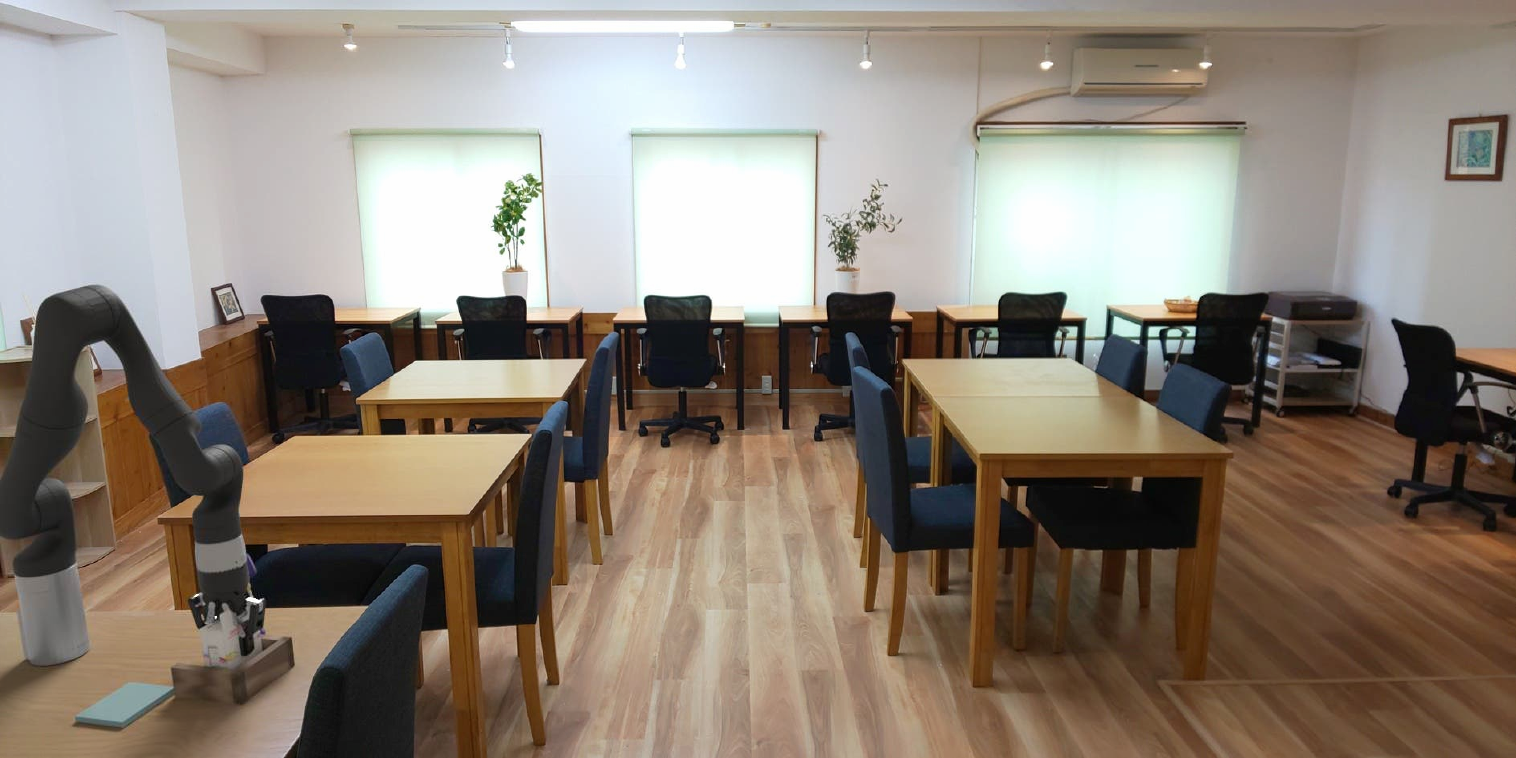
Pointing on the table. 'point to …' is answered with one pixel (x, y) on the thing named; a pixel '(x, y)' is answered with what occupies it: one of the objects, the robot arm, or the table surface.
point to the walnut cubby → (235, 674)
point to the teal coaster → (125, 704)
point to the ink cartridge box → (226, 643)
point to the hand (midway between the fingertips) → (233, 652)
